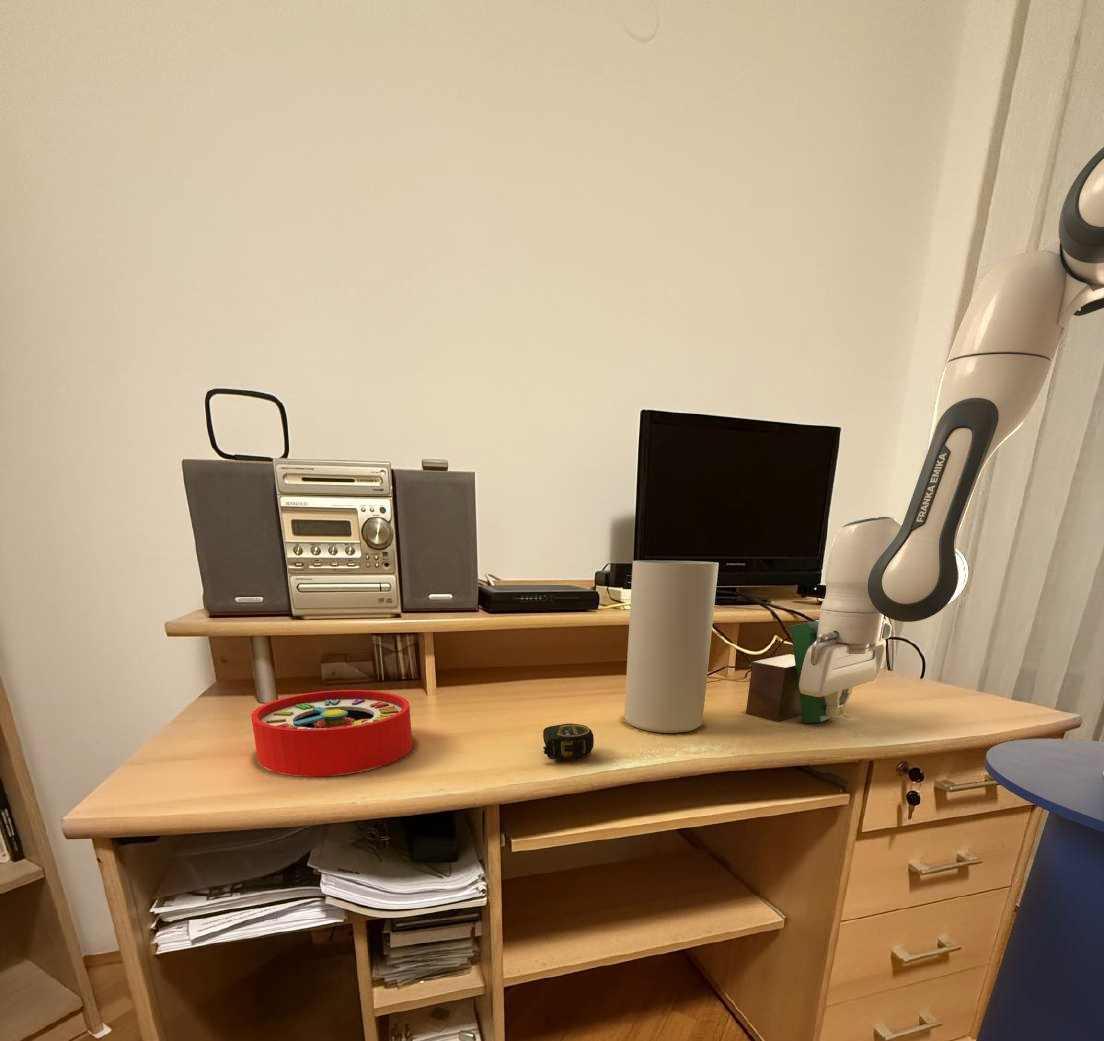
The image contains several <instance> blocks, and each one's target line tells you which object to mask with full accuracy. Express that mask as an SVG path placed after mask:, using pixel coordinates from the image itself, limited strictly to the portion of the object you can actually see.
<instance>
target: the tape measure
mask: <svg viewBox="0 0 1104 1041" xmlns="http://www.w3.org/2000/svg"><path fill="white" fill-rule="evenodd" d="M542 738H543V742H544V743H543V744H544V745H545V746H543V754H544V755H546V756H547V758H548V759H550V760H556V759H565V760H566V759H567V760H575V759H580V758H585V757H587V756H589V755H590V754H591V753H592V752H593V749H594V747H595V746H594V744H595V737H594V733H593V731H592V729H591V728H590V727H589V726H587V725H584V724H579V723H562V724H556V725H549V726H547V727H545V728H543V731H542Z"/></svg>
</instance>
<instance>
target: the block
mask: <svg viewBox="0 0 1104 1041" xmlns="http://www.w3.org/2000/svg"><path fill="white" fill-rule="evenodd" d="M748 685H749V686H748V693H747V700H746V708H745V713H746V714H748V715H752V716H755V717H760V718H763V719H767V720H771V721H775V722H779V721H782V720H786V719H788V718H792V717H794V716H798V715H802V712H801V704H800V697H799V689H798V681H797V673H796V666H795V658H794V654H793V653H792V654H791V653H789V654H783V655H779V656H778V655H777V656H774V657H769V658H763V659H759V660H755V661H752V662H751V669H750V678H749V684H748Z"/></svg>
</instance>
